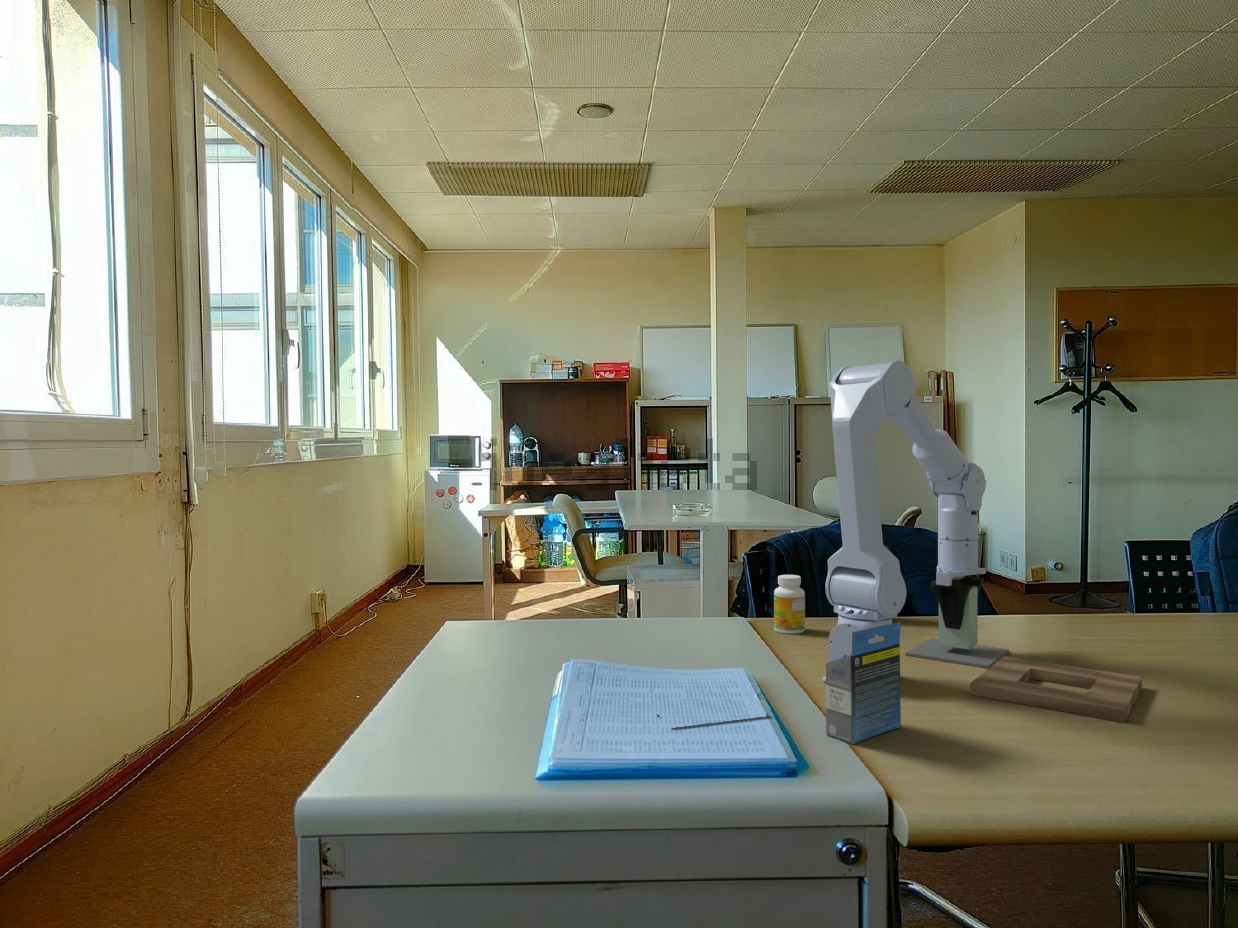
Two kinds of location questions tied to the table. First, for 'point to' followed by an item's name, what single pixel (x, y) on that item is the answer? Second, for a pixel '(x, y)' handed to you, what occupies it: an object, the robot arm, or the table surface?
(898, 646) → the label tape cartridge
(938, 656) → the pad
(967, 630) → the peg
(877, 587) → the robot arm
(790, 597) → the supplement bottle
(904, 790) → the table surface
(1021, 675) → the collar
